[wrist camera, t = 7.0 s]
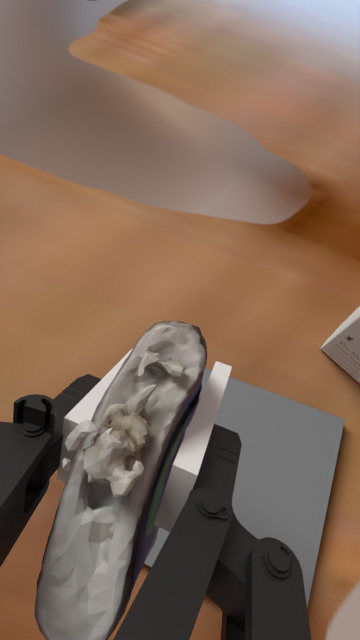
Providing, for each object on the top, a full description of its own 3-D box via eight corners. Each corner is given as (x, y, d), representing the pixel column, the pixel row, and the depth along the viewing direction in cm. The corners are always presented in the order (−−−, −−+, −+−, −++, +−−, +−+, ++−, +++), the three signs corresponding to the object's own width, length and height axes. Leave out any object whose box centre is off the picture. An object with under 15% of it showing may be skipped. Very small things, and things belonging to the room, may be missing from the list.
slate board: (80, 526, 28) (75, 529, 27) (155, 353, 33) (153, 349, 32) (295, 632, 24) (300, 640, 23) (339, 420, 30) (344, 419, 29)
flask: (149, 566, 16) (73, 745, 6) (93, 541, 16) (-64, 668, 6) (208, 383, 19) (222, 300, 9) (160, 367, 20) (124, 271, 10)
